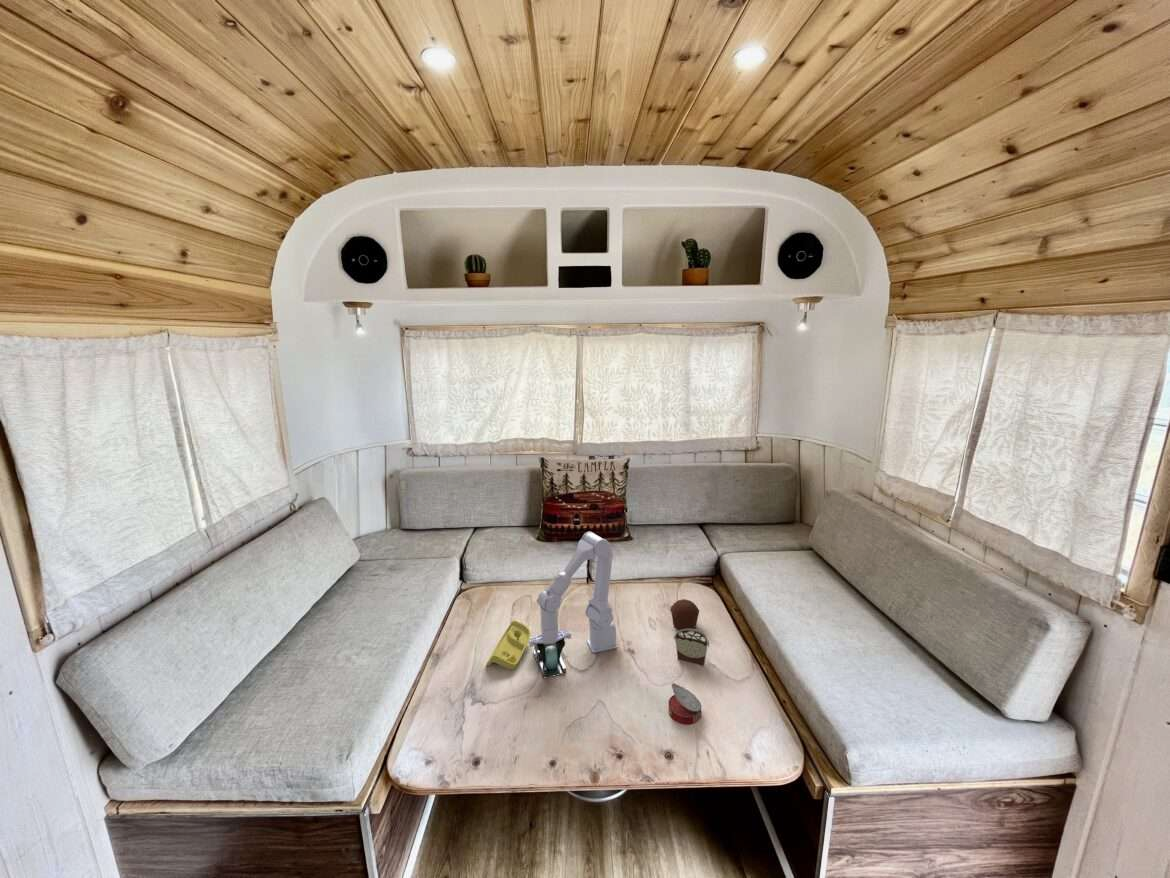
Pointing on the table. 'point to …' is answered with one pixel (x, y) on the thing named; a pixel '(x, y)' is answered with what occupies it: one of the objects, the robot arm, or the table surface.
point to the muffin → (684, 614)
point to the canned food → (684, 706)
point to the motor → (539, 659)
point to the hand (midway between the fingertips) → (551, 659)
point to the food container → (691, 646)
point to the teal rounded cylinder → (551, 657)
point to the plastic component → (511, 646)
